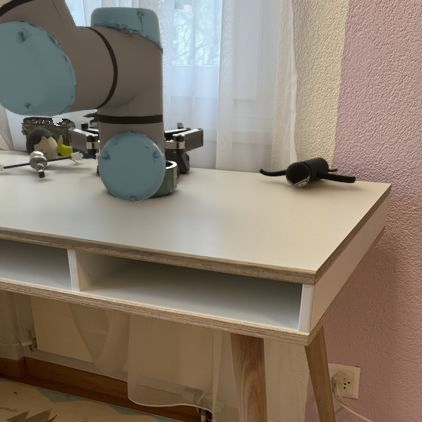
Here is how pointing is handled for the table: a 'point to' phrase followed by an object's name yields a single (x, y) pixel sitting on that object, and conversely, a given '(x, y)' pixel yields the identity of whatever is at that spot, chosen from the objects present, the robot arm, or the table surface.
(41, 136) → the toy
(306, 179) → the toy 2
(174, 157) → the computer mouse
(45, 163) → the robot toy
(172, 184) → the bowl
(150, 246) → the table surface
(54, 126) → the toy tank
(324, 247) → the table surface
